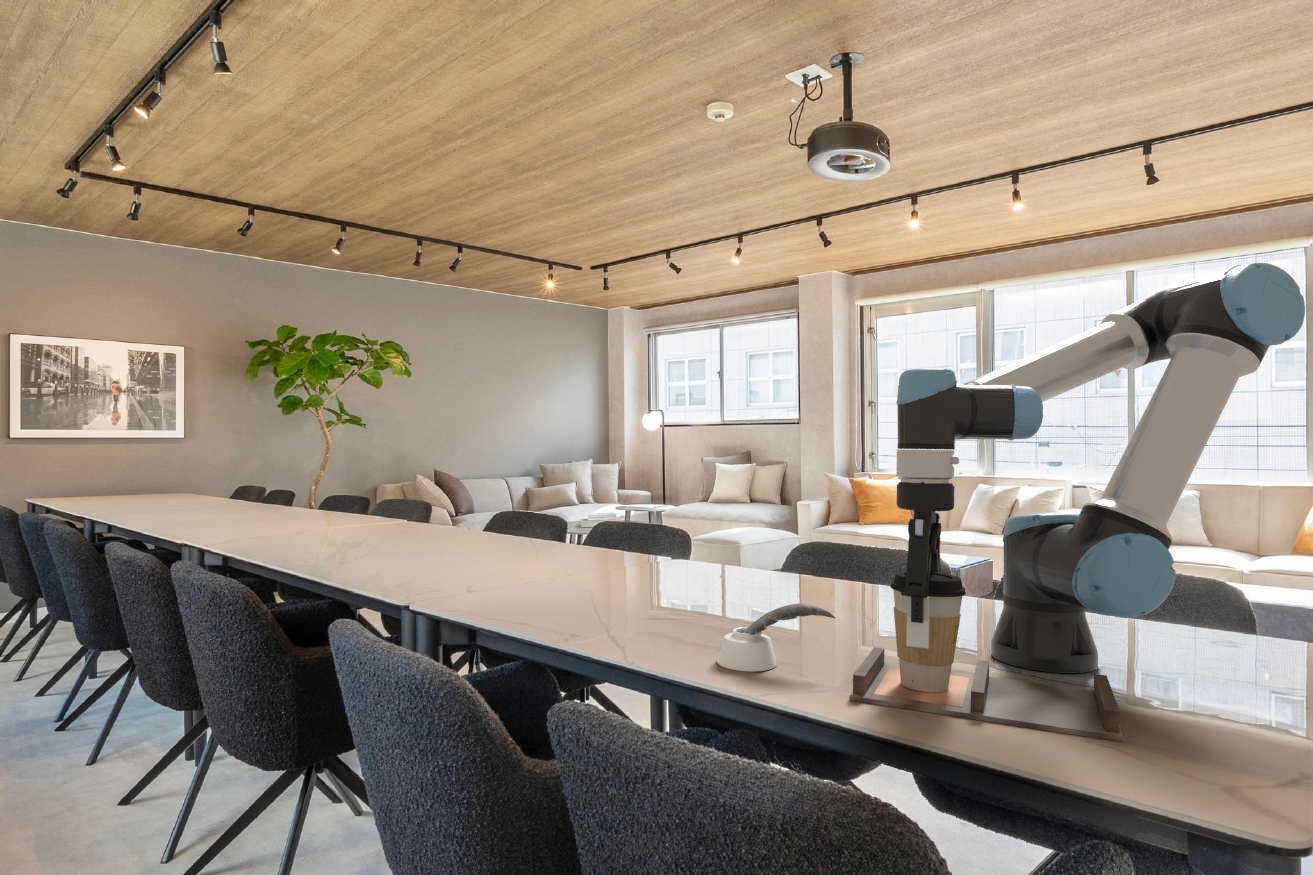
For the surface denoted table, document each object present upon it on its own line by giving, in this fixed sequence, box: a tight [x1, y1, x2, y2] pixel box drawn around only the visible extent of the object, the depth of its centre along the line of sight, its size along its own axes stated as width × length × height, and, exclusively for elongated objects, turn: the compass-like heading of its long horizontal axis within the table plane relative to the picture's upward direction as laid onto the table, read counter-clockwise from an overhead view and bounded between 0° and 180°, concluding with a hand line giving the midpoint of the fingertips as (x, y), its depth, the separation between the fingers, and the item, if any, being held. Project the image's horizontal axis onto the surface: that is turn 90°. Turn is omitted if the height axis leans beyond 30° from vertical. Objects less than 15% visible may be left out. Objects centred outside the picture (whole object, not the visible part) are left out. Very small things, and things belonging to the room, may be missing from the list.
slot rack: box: [848, 646, 1124, 743], centre depth 103 cm, size 31×18×3 cm, turn 65°
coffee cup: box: [889, 570, 967, 692], centre depth 106 cm, size 10×10×15 cm
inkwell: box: [716, 603, 836, 673], centre depth 117 cm, size 9×18×10 cm, turn 70°
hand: (923, 635), depth 106 cm, fingers open, 13 cm apart
